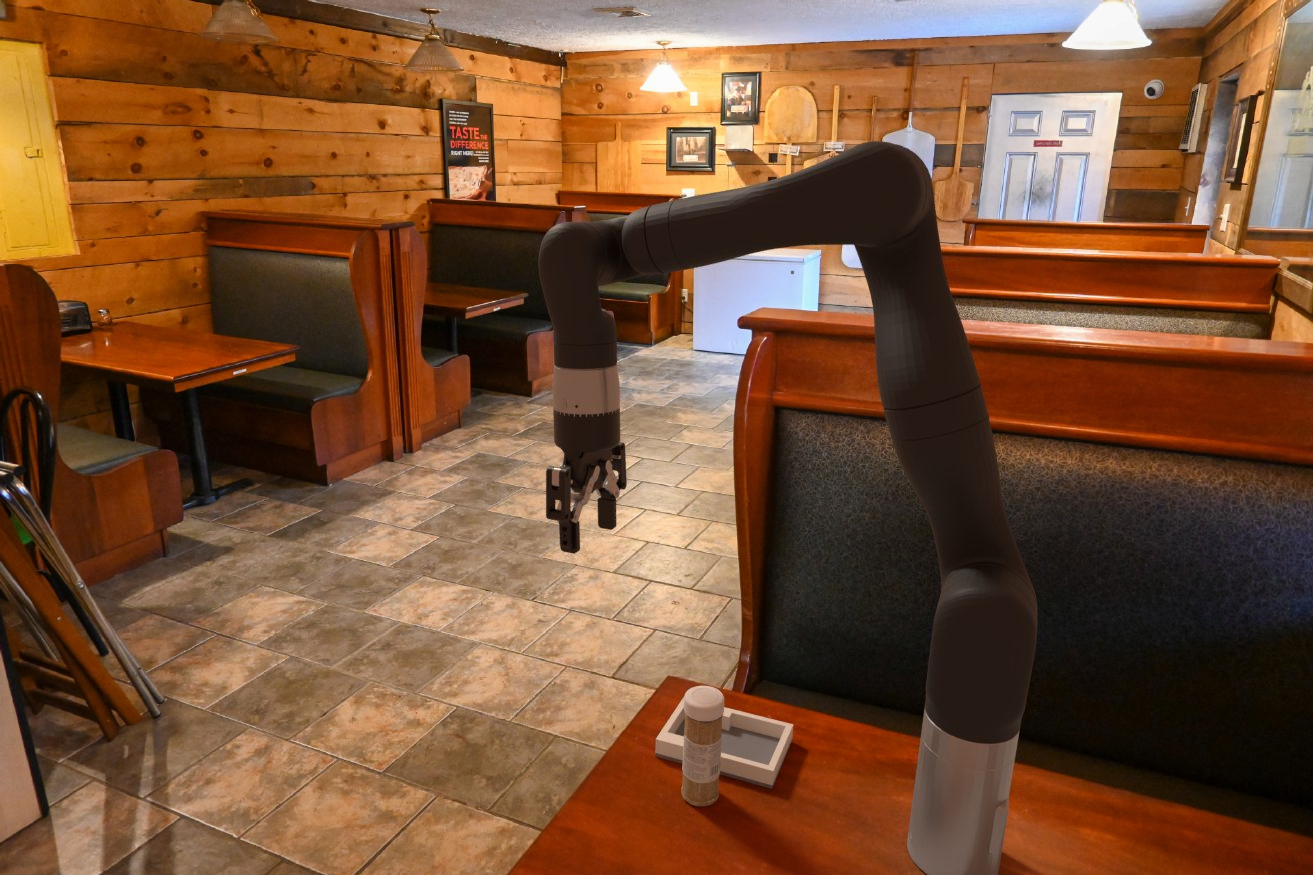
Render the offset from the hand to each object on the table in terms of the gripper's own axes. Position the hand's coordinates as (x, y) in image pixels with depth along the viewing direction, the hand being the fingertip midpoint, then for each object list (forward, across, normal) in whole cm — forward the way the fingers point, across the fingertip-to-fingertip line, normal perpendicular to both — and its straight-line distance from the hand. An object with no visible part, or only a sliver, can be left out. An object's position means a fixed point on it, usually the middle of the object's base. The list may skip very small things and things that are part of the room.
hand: (589, 539), depth 101 cm
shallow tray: (+29, +8, -14) cm, 33 cm away
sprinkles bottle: (+29, -1, -15) cm, 33 cm away
